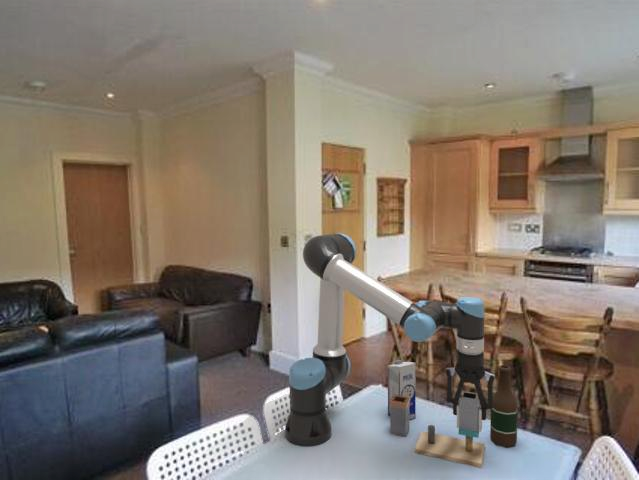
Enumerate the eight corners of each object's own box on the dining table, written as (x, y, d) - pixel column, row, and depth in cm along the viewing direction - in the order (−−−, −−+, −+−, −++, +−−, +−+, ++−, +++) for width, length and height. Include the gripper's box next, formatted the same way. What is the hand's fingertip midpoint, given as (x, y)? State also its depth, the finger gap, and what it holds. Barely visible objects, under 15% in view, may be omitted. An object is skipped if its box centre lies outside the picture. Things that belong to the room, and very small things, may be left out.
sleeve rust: (389, 433, 141) (389, 401, 140) (394, 426, 146) (393, 394, 145) (406, 437, 139) (406, 404, 138) (410, 429, 143) (410, 397, 143)
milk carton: (400, 423, 147) (399, 366, 146) (387, 415, 153) (387, 360, 152) (415, 418, 151) (415, 362, 149) (403, 410, 157) (403, 356, 155)
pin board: (414, 452, 130) (414, 432, 130) (422, 434, 140) (422, 416, 140) (481, 467, 122) (482, 446, 122) (484, 447, 132) (485, 428, 132)
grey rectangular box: (458, 434, 127) (458, 397, 126) (460, 425, 132) (461, 390, 131) (478, 438, 125) (478, 401, 124) (479, 429, 129) (480, 393, 128)
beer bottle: (520, 449, 131) (521, 372, 129) (492, 447, 132) (493, 370, 130) (513, 435, 138) (515, 362, 136) (488, 433, 140) (489, 361, 138)
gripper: (435, 350, 127) (435, 427, 129) (503, 359, 119) (502, 440, 121) (439, 343, 133) (439, 415, 135) (505, 350, 126) (503, 427, 128)
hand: (469, 427), depth 128 cm, fingers closed on grey rectangular box, 5 cm apart
